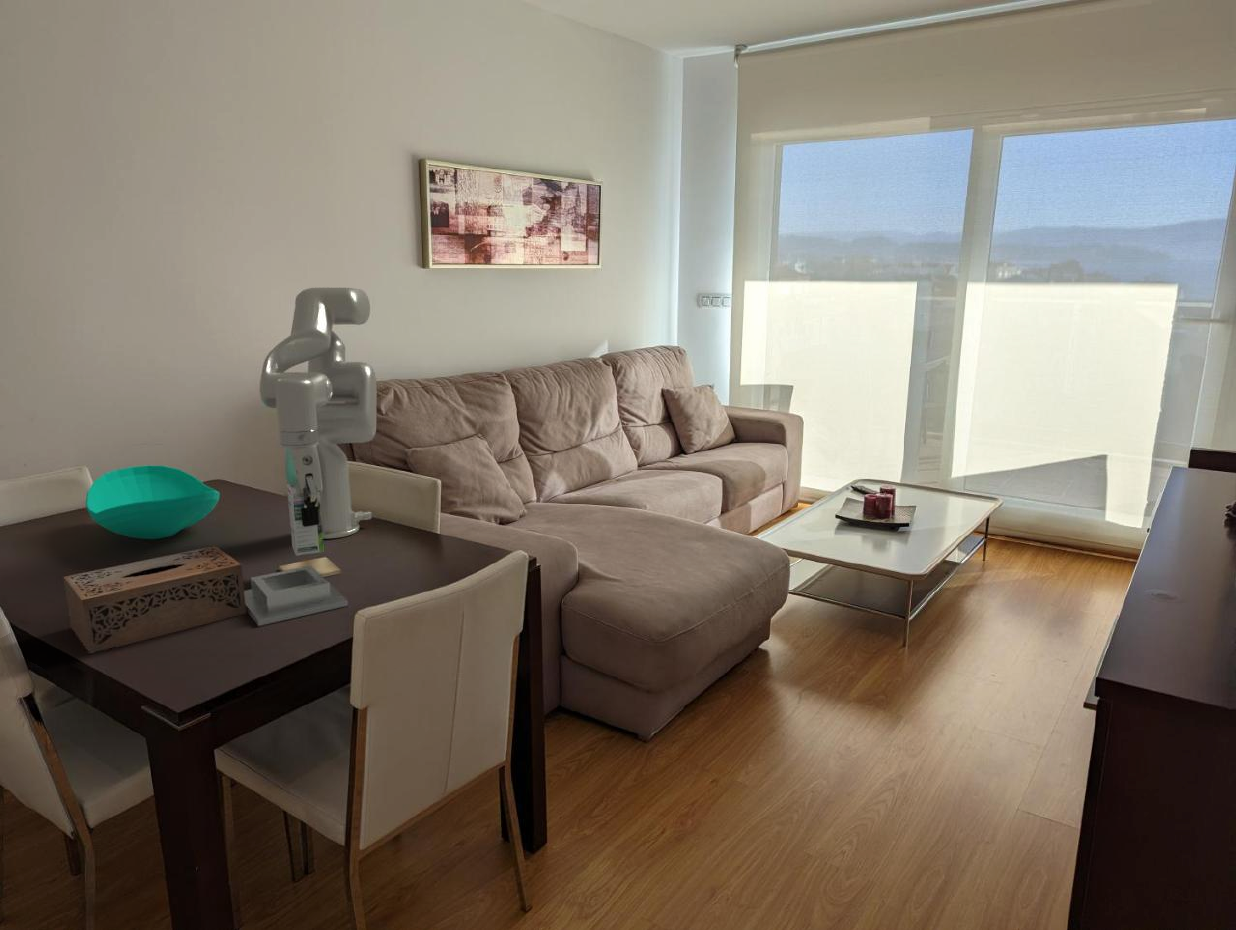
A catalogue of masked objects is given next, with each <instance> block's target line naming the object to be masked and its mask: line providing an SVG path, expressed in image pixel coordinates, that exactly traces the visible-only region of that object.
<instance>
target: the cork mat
mask: <svg viewBox="0 0 1236 930" xmlns="http://www.w3.org/2000/svg"><path fill="white" fill-rule="evenodd" d="M307 566H312V567H313V568H314V569H315V570H316V571H317V572H318V573H320V574H321V575H322V576H323V577H324V578H325V577H330V576H335V575H341V574H342V570H341V568H339V567H338V566H337V565H336V564H335V563H334V562H332V560H330V559H329V558H327V556H324V557H320V558H319V557H318V558H314V559H308V560H303V561H299V562H293V563H289V564H283V565H279V566H278V568H279V572H282V571H287V570H292V569H297V568H302V567H307Z"/></svg>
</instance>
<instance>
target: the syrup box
mask: <svg viewBox="0 0 1236 930" xmlns="http://www.w3.org/2000/svg"><path fill="white" fill-rule="evenodd" d="M315 487H316V486H315ZM316 489H317V488H316ZM303 491H304V493H305V492H309V491H308V490H303ZM286 492H287V493H286V494H287V501H288V502H287V503H288V512H289V523H290V524H289V526H290V534H291V535H290V536H291V545H292V549H293V552H294V554H295V556H296V557H299V556H303V555H311V554H319V553H324V552H325V547H324V545H325V544H324V539H323V533H322V520H321V508H320V495H319V492H318V491H317V503H318V517H319V524H318V525H313V526H307V527H304V526H303V524H302V512H301V508H303V505H302V500H301V495H300V494H298V493H297V492H296V489H295V488H294V487H293V486H292V485H290V484H288V485H287V484H286ZM307 497H309V496H305V499H307Z"/></svg>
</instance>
